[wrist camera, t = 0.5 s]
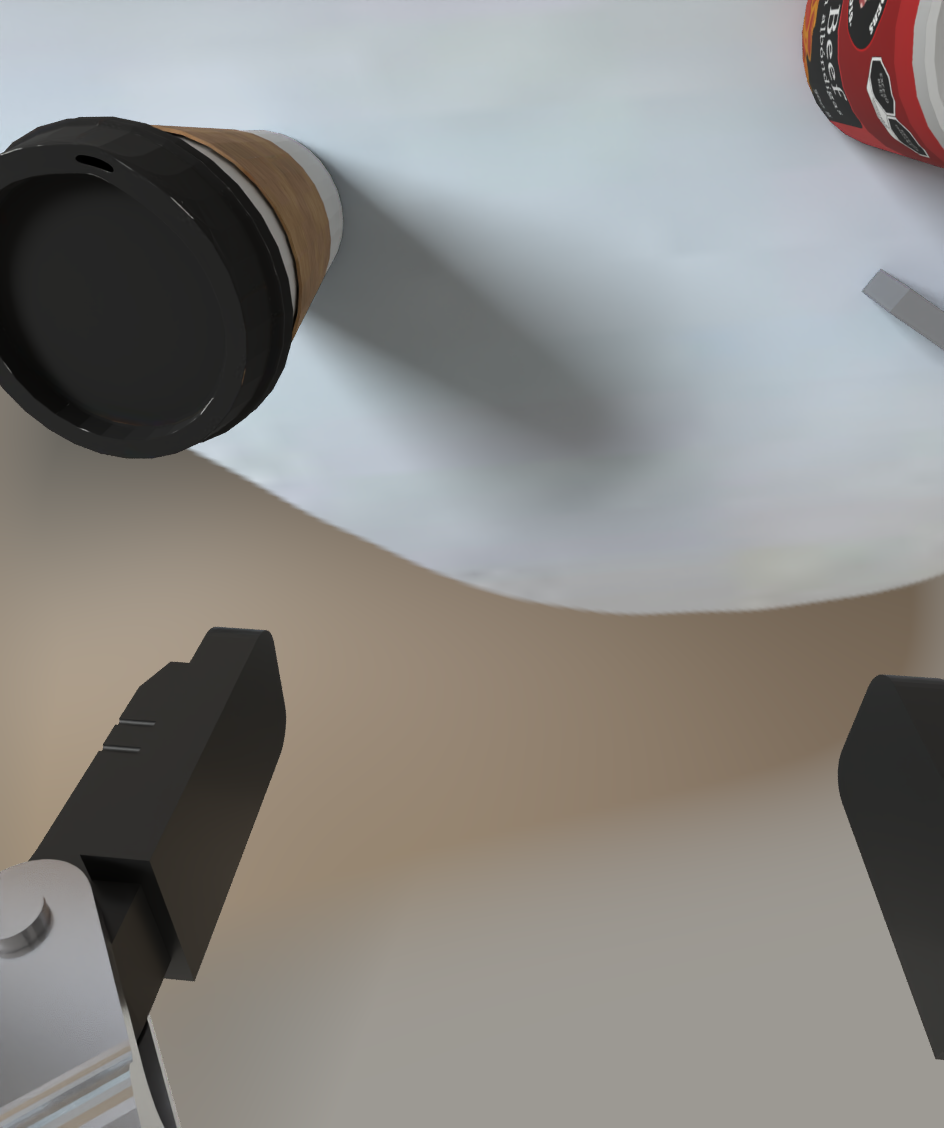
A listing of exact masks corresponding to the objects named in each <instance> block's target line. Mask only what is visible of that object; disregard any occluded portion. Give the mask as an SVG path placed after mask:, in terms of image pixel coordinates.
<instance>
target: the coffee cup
mask: <svg viewBox="0 0 944 1128" xmlns="http://www.w3.org/2000/svg"><path fill="white" fill-rule="evenodd" d="M342 232H343V213H342V205H341V201H340V197H339V194H338V190H337V188H336V186H335V184H334V182H333V180H332V177H331V175H330V174H329V172H328V171H327V170H326V168H325V167H324V165H323V164H322V162H321V161H320V160H319V159H318V158H317V157H316V156H315V155H314V154H313V153H312V152H311V151H310V150H309V149H307V148H306V147H305V146H303V145H302V144H300V143H299V142H297V141H296V140H294V139H292V138H289V137H287V136H285V135H283V134H280V133H275V132H270V131H265V130H246V131H239V130H232V129H214V128H196V127H178V126H160V125H149V124H146V123H141V122H136V121H131V120H127V119H122V118H117V117H78V118H75V119H65V120H62V121H58V122H54V123H51V124H47V125H44V126H40V127H37V128H36V129H34V130H32V131H31V132H29V133H28V134H26V135H24V136H23V137H21V138H19V139H18V140H16V141H14V142H13V143H12V144H11V145H10V146H9V147H8V148H7V149H6V150H5V151H4V152H3V153H1V154H0V385H1V387H2V388H3V389H4V390H5V391H6V392H7V393H8V394H9V395H10V396H11V397H12V398H13V399H14V400H15V401H16V402H17V403H18V404H19V405H20V406H21V407H22V408H23V409H24V410H25V411H26V412H27V413H28V414H30V415H31V416H32V417H34V418H35V419H36V420H38V421H39V422H40V423H42V424H43V425H44V426H45V427H47V428H48V429H49V430H51V431H53V432H55V433H56V434H58V435H60V436H62V437H63V438H65V439H67V440H69V441H71V442H72V443H74V444H76V445H79V446H82V447H84V448H87V449H90V450H93V451H95V452H98V453H100V454H106V455H111V456H117V457H122V458H156V457H161V456H166V455H171V454H175V453H178V452H180V451H182V450H185V449H187V448H189V447H191V446H194V445H196V444H198V443H201V442H205V441H207V440H209V439H212V438H214V437H216V436H219V435H221V434H223V433H226V432H227V431H229V430H230V429H231V428H233V427H234V426H235V425H237V424H238V423H239V422H241V421H242V420H243V419H245V418H246V417H247V416H248V415H249V414H250V413H251V412H253V411H254V410H256V409H257V408H258V406H259V405H260V404H261V403H262V402H263V401H264V399H265V398H266V397H267V396H268V395H269V394H270V392H271V391H272V390H273V388H274V386H275V385H276V383H277V381H278V379H279V377H280V375H281V373H282V371H283V369H284V367H285V364H286V360H287V357H288V353H289V349H290V346H291V342H292V340H293V338H294V336H295V334H296V332H297V330H298V328H299V326H300V324H301V322H302V320H303V318H304V316H305V314H306V312H307V310H308V308H309V306H310V304H311V302H312V300H313V298H314V296H315V294H316V292H317V290H318V288H319V286H320V284H321V282H322V280H323V278H324V276H325V274H326V272H327V271H328V269H329V267H330V265H331V264H332V262H333V260H334V258H335V256H336V254H337V252H338V249H339V246H340V242H341V239H342Z"/></svg>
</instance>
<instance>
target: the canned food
mask: <svg viewBox="0 0 944 1128" xmlns="http://www.w3.org/2000/svg"><path fill="white" fill-rule="evenodd" d="M802 46H803V62H804V67H805V72H806V77H807V82H808V84H809V87H810V89H811V91H812V94H813V96H814V98H815V100H816V103H817V104H818V106H819V107H820V108H821V110H822V111H823V113H824V114H825V115H826V117H827V118H828V119H829V121H830V122H832V123H833V124H834V125H835V126H836V127H838V128H839V129H840V130H841V131H842V132H843V133H845V134H846V135H848V136H850V137H852V138H854V139H856V140H858V141H860V142H862V143H864V144H867V145H871V146H874V147H877V148H880V149H883V150H886V151H890V152H893V153H896V154H899V155H902V156H906V157H909V158H912V159H915V160H918V161H922V162H925V163H928V164H931V165H934V166H937V167H941V168H944V0H808V2H807V5H806V12H805V18H804V25H803V31H802Z"/></svg>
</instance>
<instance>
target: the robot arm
mask: <svg viewBox="0 0 944 1128" xmlns="http://www.w3.org/2000/svg"><path fill="white" fill-rule="evenodd" d="M119 719H120V722H119V724H118V725H115V726H114V728H113V729H112V731H111V733H110V734H109V736H108V737H107V739H106V740H105V742H104V744H103V750H102V751H99V752H98V753H97V755H96V756H95V758H94V760H93V761H92V763H91V764H90V766H89V768H88V769H87V771H86V772H85V774H84V776H83V777H82V779H81V780H80V782H79V783H78V785H77V787H76V788H75V790H74V791H73V793H72V794H71V796H70V798H69V799H68V801H67V802H66V804H65V806H64V807H63V809H62V810H61V812H60V814H59V815H58V817H57V818H56V820H55V822H54V823H53V825H52V826H51V828H50V829H49V831H48V833H47V834H46V836H45V837H44V839H43V841H42V842H41V844H40V845H39V847H38V849H37V850H36V851H35V853H34V854H33V855H32V857H31V858H30V859H29V861H28V862H25V863H20V864H18V865H15V866H12V867H9V868H7V869H5V870H3V871H1V872H0V1128H181V1124H180V1121H179V1117H178V1114H177V1110H176V1106H175V1103H174V1100H173V1095H172V1092H171V1089H170V1085H169V1081H168V1078H167V1074H166V1070H165V1067H164V1063H163V1059H162V1056H161V1052H160V1049H159V1045H158V1041H157V1037H156V1034H155V1031H154V1027H153V1023H152V1019H151V1016H150V1014H149V1012H150V1010H151V1008H152V1005H153V1003H154V1001H155V998H156V995H157V993H158V991H159V988H160V986H161V983H162V981H163V979H164V978H166V979H176V980H186V981H195V979H196V976H197V973H198V971H199V968H200V965H201V963H202V960H203V957H204V955H205V952H206V950H207V947H208V944H209V942H210V939H211V936H212V934H213V931H214V928H215V926H216V923H217V920H218V918H219V915H220V913H221V910H222V907H223V904H224V902H225V899H226V897H227V894H228V891H229V889H230V886H231V883H232V881H233V878H234V876H235V872H236V870H237V867H238V865H239V862H240V860H241V857H242V854H243V852H244V849H245V846H246V844H247V841H248V838H249V836H250V833H251V830H252V828H253V825H254V822H255V820H256V817H257V815H258V812H259V809H260V807H261V804H262V802H263V799H264V796H265V793H266V791H267V788H268V786H269V783H270V780H271V778H272V775H273V772H274V770H275V767H276V764H277V762H278V759H279V757H280V753H281V750H282V747H283V742H284V737H285V729H286V710H285V703H284V697H283V692H282V686H281V680H280V675H279V669H278V663H277V657H276V651H275V646H274V641H273V638H272V635H271V633H270V632H269V631H267V630H254V629H239V628H226V627H213V628H211V629H210V630H209V631H208V632H207V634H206V635H205V637H204V639H203V640H202V642H201V644H200V646H199V647H198V649H197V651H196V653H195V655H194V656H193V658H192V660H191V661H190V663H183V662H170V663H168V664H167V665H166V666H165V667H164V668H162V669H161V670H160V671H158V672H157V673H156V674H155V675H154V676H152V677H151V678H150V679H149V680H147V681H146V682H145V683H144V684H142V685H141V686H140V687H139V688H138V690H137V691H136V693H135V695H134V696H133V698H132V699H131V701H130V702H129V704H128V705H127V707H126V709H125V710H124V712H123V713H122V715H121V717H120V718H119ZM838 786H839V792H840V797H841V800H842V804H843V806H844V809H845V812H846V814H847V817H848V820H849V823H850V825H851V828H852V831H853V834H854V836H855V839H856V842H857V845H858V847H859V850H860V853H861V856H862V858H863V861H864V864H865V867H866V869H867V872H868V875H869V878H870V880H871V883H872V886H873V888H874V891H875V894H876V897H877V900H878V902H879V905H880V908H881V910H882V913H883V916H884V919H885V921H886V924H887V927H888V930H889V932H890V935H891V938H892V941H893V943H894V946H895V948H896V952H897V954H898V957H899V960H900V962H901V965H902V968H903V971H904V973H905V976H906V979H907V982H908V984H909V987H910V990H911V993H912V995H913V998H914V1001H915V1004H916V1006H917V1009H918V1012H919V1015H920V1017H921V1020H922V1023H923V1026H924V1028H925V1031H926V1034H927V1036H928V1039H929V1042H930V1045H931V1047H932V1050H933V1053H934V1056H935V1059H941V1060H944V680H942V679H938V678H925V677H910V676H895V675H878V676H876V677H875V678H874V679H873V680H872V681H871V683H870V685H869V687H868V689H867V692H866V694H865V696H864V699H863V701H862V704H861V706H860V708H859V711H858V713H857V716H856V718H855V720H854V723H853V725H852V728H851V730H850V733H849V735H848V737H847V740H846V742H845V745H844V747H843V750H842V752H841V755H840V759H839V766H838Z"/></svg>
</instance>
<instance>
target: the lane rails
mask: <svg viewBox="0 0 944 1128" xmlns="http://www.w3.org/2000/svg"><path fill="white" fill-rule="evenodd" d="M862 292H863V293H865V294H866V295H867V296H869V297H870V298H871V299H873V300H874V301H875V302H876V303H878V304H879V305H880V306H882V307H883V308H884V309H886V310H887V311H888V312H890V313H891V314H892V315H894V316H895V317H897V318H898V319H900V320H901V321H903V322H904V323H905V324H907V325H908V326H910V327H911V328H913V329H914V330H916V331H917V332H919V333H920V334H921V335H923V336H924V337H926V338H927V339H929V340H930V341H932V342H933V343H934V344H936V345H937V346H939V347H940V348H942V349H943V350H944V312H943V311H942V310H940V309H939V308H937V307H936V306H935V305H933V304H932V303H930V302H929V301H928V300H926V299H925V298H923V297H922V296H920V295H919V294H918V293H916V292H915V291H913V290H912V289H911V288H909V287H907V286H906V285H904V284H903V283H901V282H900V281H898V280H897V279H895V278H894V277H892V276H891V275H889V274H888V273H886V272H885V271H883V270H881V269H880V270H879V272H878V273H877V274H876V275H875V276H874V277H873V279H872V280H871V281H870V282H869V283H868V285H867V286H866V287H865V288H864V289H863V290H862Z"/></svg>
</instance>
